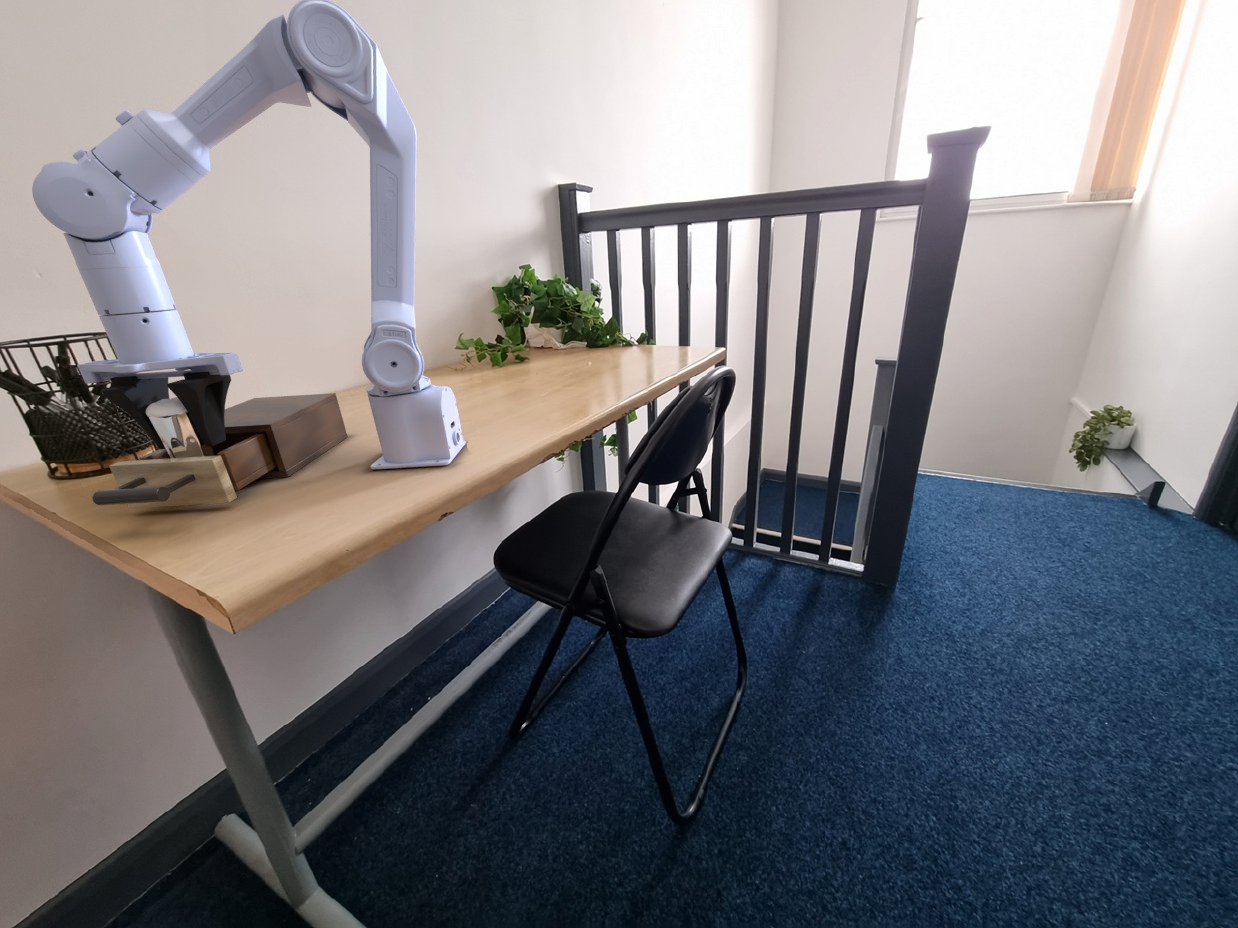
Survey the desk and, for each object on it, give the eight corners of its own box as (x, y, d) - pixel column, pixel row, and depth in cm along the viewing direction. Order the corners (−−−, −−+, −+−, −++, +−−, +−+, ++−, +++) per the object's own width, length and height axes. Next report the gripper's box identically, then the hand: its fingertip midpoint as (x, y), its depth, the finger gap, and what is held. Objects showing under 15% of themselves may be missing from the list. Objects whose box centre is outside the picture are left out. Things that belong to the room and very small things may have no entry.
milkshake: (245, 468, 57) (213, 382, 53) (204, 488, 52) (166, 394, 48) (209, 468, 57) (175, 383, 53) (165, 488, 52) (125, 396, 48)
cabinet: (288, 477, 59) (270, 424, 57) (191, 482, 59) (169, 430, 57) (347, 437, 73) (335, 393, 70) (269, 441, 73) (254, 397, 70)
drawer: (194, 525, 47) (173, 478, 45) (84, 531, 47) (59, 485, 45) (304, 455, 63) (293, 419, 62) (223, 460, 63) (209, 424, 62)
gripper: (19, 321, 44) (89, 462, 49) (180, 311, 44) (234, 454, 49) (95, 314, 51) (150, 439, 56) (236, 305, 51) (278, 431, 56)
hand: (193, 444), depth 53 cm, fingers closed on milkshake, 4 cm apart
